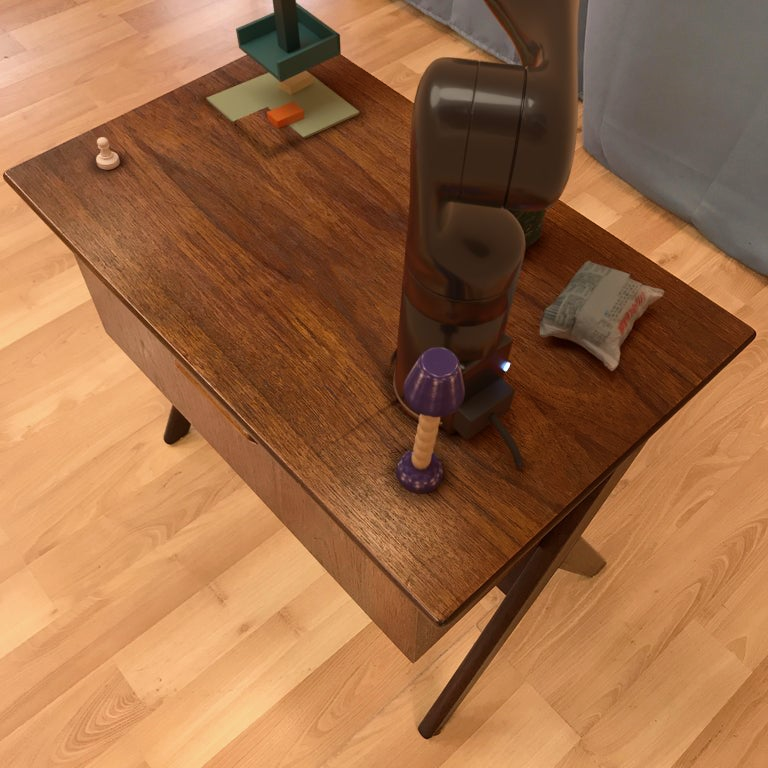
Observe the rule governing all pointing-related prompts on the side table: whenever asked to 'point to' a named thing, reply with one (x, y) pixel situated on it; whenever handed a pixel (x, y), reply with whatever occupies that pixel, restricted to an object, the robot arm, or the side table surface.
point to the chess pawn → (106, 155)
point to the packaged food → (598, 310)
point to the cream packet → (296, 83)
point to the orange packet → (285, 115)
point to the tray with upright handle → (288, 40)
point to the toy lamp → (429, 415)
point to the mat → (264, 92)
